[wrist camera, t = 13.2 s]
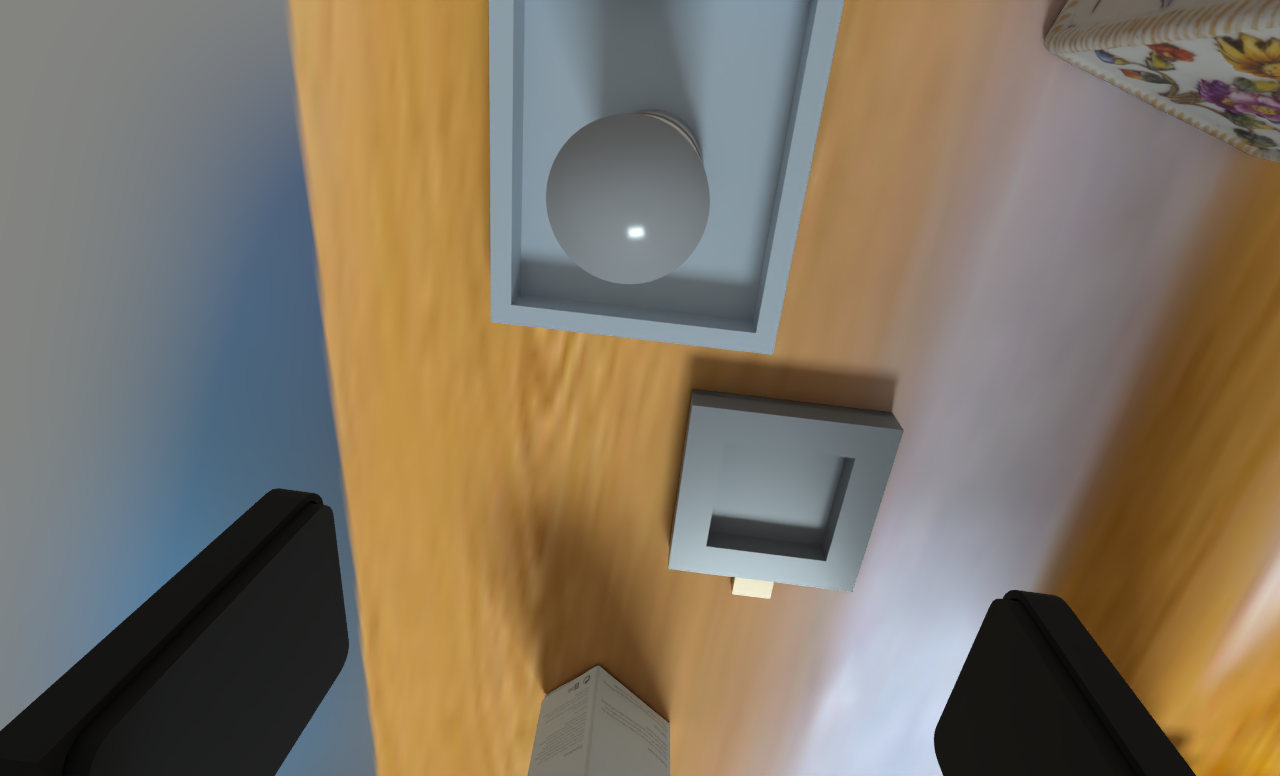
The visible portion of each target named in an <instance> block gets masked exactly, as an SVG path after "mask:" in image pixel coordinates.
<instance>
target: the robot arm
mask: <svg viewBox="0 0 1280 776" xmlns="http://www.w3.org/2000/svg"><path fill="white" fill-rule="evenodd" d="M348 649H349V640H348V631H347V623H346V615H345V607H344V598H343V590H342V583H341V573H340V566H339V557H338V549H337V541H336V532H335V524H334V516H333V512H332V509H331V508H330V507H329V506H326V505H323V501H322V499H321V497H320V496H319V495H317V494H315V493H308V492H301V491H294V490H286V489H272V490H271V491H269V492H268V493H266V494H265V495H264V496H263V497H262V498H261V499H260V500H259V501H258V502H256V503H255V504H254V505H253V506H252V507H251V508H250V509H249V510H247V511H246V512H245V513H244V514H243V515H242V516H241V517H240V518H238V520H236V521H235V522H234V523H233V524H232V525H231V526H230V527H228V528H227V529H226V530H225V531H224V532H223V533H222V534H221V535H219V536H218V537H217V538H216V539H215V540H214V541H213V542H212V543H210V545H208V546H207V547H206V548H205V549H204V550H203V551H202V552H200V553H199V554H198V555H197V556H196V557H195V558H194V559H193V560H191V561H190V562H189V563H188V564H187V565H186V566H185V567H184V568H183V569H181V570H180V571H179V572H178V573H177V574H176V575H175V576H174V577H172V578H171V579H170V580H169V581H168V582H167V583H166V584H165V585H163V586H162V587H161V588H160V589H159V590H158V591H157V592H156V593H154V595H152V596H151V597H150V598H149V599H148V600H147V601H146V602H144V603H143V604H142V605H141V606H140V607H139V608H138V609H137V610H136V611H134V612H133V613H132V614H131V615H130V616H129V617H128V618H126V619H125V620H124V621H123V622H122V623H121V624H120V625H119V626H118V627H117V628H116V629H114V630H113V631H112V632H111V633H110V634H109V635H107V636H106V637H105V638H104V639H103V640H102V641H101V642H100V643H98V644H97V645H96V646H95V647H94V648H93V649H92V650H91V651H90V652H89V653H87V654H86V655H85V656H84V657H83V658H82V659H81V660H79V661H78V662H77V663H76V664H75V665H74V666H73V667H72V668H71V669H70V670H68V671H67V672H66V673H65V674H64V675H63V676H62V677H60V678H59V679H58V680H57V681H56V682H55V683H54V684H53V685H51V686H50V687H49V688H48V689H47V690H46V691H45V692H44V693H43V694H41V695H40V696H39V697H38V698H37V699H36V700H35V701H34V702H32V703H31V704H30V705H29V706H28V707H27V708H26V709H25V710H23V711H22V712H21V713H20V714H19V715H18V716H17V717H16V718H15V719H13V720H12V721H11V722H10V723H9V724H8V725H7V726H6V727H5V728H3V729H2V730H1V731H0V776H275V774H276V773H277V771H278V769H279V768H280V766H281V765H282V763H283V762H284V760H285V758H286V757H287V755H288V754H289V752H290V750H291V749H292V747H293V746H294V744H295V743H296V741H297V739H298V738H299V736H300V735H301V733H302V731H303V730H304V728H305V727H306V725H307V724H308V722H309V721H310V719H311V717H312V716H313V714H314V713H315V711H316V709H317V708H318V706H319V704H320V703H321V702H322V700H323V698H324V697H325V695H326V694H327V692H328V691H329V689H330V687H331V686H332V684H333V682H334V681H335V679H336V678H337V676H338V675H339V673H340V672H341V670H342V668H343V666H344V663H345V661H346V658H347V654H348ZM934 747H935V753H936V757H937V760H938V763H939V766H940V768H941V771H942V774H943V776H1196V775H1195V773H1194V772H1193V771H1192V769H1191V768H1190V767H1189V765H1188V764H1187V763H1186V761H1185V760H1184V759H1183V757H1182V756H1181V755H1180V753H1179V752H1178V751H1177V749H1176V748H1175V747H1174V745H1173V744H1172V743H1171V741H1170V740H1169V739H1168V737H1167V736H1166V735H1165V733H1164V732H1163V731H1162V730H1161V728H1160V727H1159V726H1158V724H1157V723H1156V722H1155V720H1154V719H1153V718H1152V716H1151V715H1150V714H1149V712H1148V711H1147V710H1146V708H1145V707H1144V706H1143V704H1142V703H1141V702H1140V700H1139V699H1138V698H1137V696H1136V695H1135V694H1134V692H1133V691H1132V690H1131V688H1130V687H1129V686H1128V684H1127V683H1126V682H1125V680H1124V679H1123V678H1122V676H1121V675H1120V674H1119V672H1118V671H1117V670H1116V668H1115V667H1114V666H1113V664H1112V663H1111V662H1110V660H1109V659H1108V658H1107V656H1106V655H1105V654H1104V652H1103V651H1102V650H1101V648H1100V647H1099V646H1098V644H1097V643H1096V642H1095V640H1094V639H1093V638H1092V636H1091V635H1090V634H1089V632H1088V631H1087V630H1086V628H1085V627H1084V626H1083V624H1082V623H1081V622H1080V620H1079V619H1078V618H1077V616H1076V615H1075V614H1074V612H1073V611H1072V610H1071V608H1070V607H1069V606H1068V604H1067V603H1066V602H1065V601H1064V600H1063V599H1062V598H1060V597H1057V596H1055V595H1048V594H1041V593H1034V592H1026V591H1019V590H1011V591H1009V592H1008V593H1006V594H1005V595H1004V597H1003V599H996V600H994V601H993V602H992V604H991V605H990V607H989V609H988V611H987V614H986V616H985V618H984V621H983V623H982V625H981V627H980V630H979V632H978V634H977V636H976V639H975V641H974V643H973V645H972V648H971V650H970V652H969V654H968V657H967V659H966V661H965V663H964V666H963V668H962V670H961V672H960V675H959V677H958V679H957V681H956V684H955V686H954V688H953V690H952V693H951V695H950V697H949V699H948V702H947V704H946V706H945V708H944V711H943V713H942V715H941V717H940V720H939V722H938V724H937V726H936V729H935V734H934Z"/></svg>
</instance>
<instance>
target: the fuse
mask: <svg viewBox="0 0 1280 776" xmlns="http://www.w3.org/2000/svg"><path fill="white" fill-rule="evenodd" d="M546 207H547V214H548V218H549V222H550V225H551V228H552V231H553V233H554V235H555V238H556V239H557V241H558V243H559V244H560V246H561V248H562V249H563V250H564V252H565V253H566V254H567V255H568V256H569V257H570V259H571V260H572V261H573V262H574V263H576V264H577V265H578V266H579V267H581V268H582V269H583V270H585V271H586V272H588V273H590V274H591V275H593V276H596V277H598V278H600V279H603V280H606V281H609V282H614V283H619V284H640V283H645V282H650V281H653V280H656V279H659V278H661V277H663V276H665V275H667V274H669V273H671V272H672V271H674V270H675V269H677V268H678V267H679V266H680V265H681V264H683V263H684V262H685V261H686V260H687V259H688V257H689V256H690V255H691V254H692V253H693V251H694V250H695V248H696V247H697V245H698V244H699V242H700V240H701V238H702V236H703V234H704V231H705V228H706V225H707V221H708V216H709V208H710V192H709V186H708V180H707V175H706V172H705V168H704V162H703V154H702V149H701V146H700V143H699V141H698V139H697V137H696V135H695V133H694V132H693V130H692V129H691V128H690V127H689V125H688V124H687V123H685V122H684V121H683V120H682V119H680V118H679V117H678V116H676V115H674V114H672V113H669V112H666V111H663V110H657V109H648V110H641V111H637V112H633V113H625V114H616V115H611V116H607V117H603V118H600V119H598V120H595V121H593V122H591V123H589V124H587V125H586V126H584V127H582V128H581V129H580V130H578V131H577V132H576V133H575V134H573V135H572V136H571V137H570V138H569V139H568V141H567V142H566V143H565V144H564V145H563V147H562V148H561V150H560V151H559V152H558V154H557V156H556V158H555V160H554V162H553V164H552V167H551V170H550V173H549V177H548V181H547V189H546Z"/></svg>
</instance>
